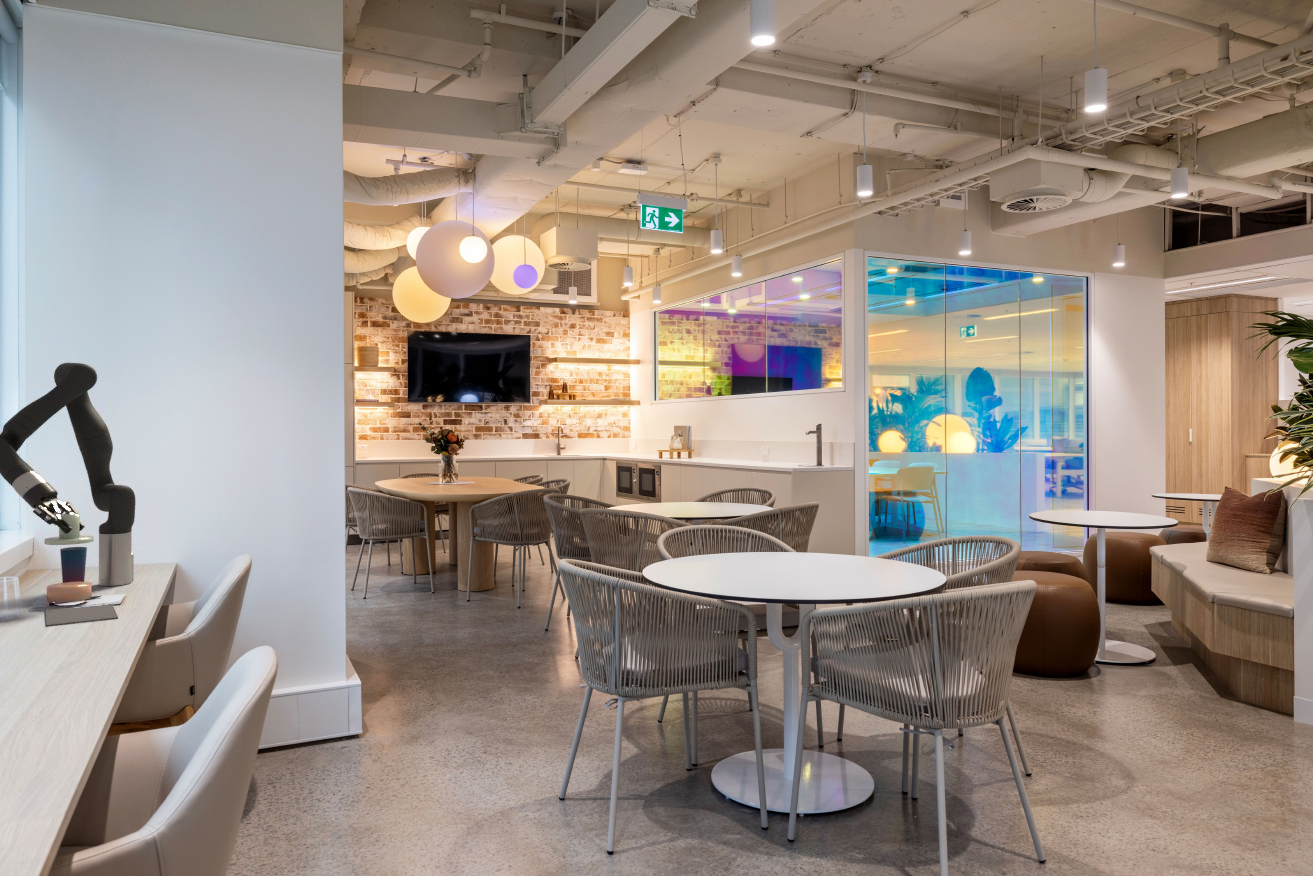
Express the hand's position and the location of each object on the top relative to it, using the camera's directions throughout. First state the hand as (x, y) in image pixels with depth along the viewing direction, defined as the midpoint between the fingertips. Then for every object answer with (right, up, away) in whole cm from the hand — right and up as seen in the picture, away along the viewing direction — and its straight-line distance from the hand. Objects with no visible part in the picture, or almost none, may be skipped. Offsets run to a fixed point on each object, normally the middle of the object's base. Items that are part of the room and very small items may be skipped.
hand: (75, 530), depth 248 cm
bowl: (-2, -22, 0) cm, 22 cm away
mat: (+11, -22, -13) cm, 28 cm away
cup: (-8, -22, +10) cm, 26 cm away
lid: (-2, -4, 0) cm, 4 cm away
